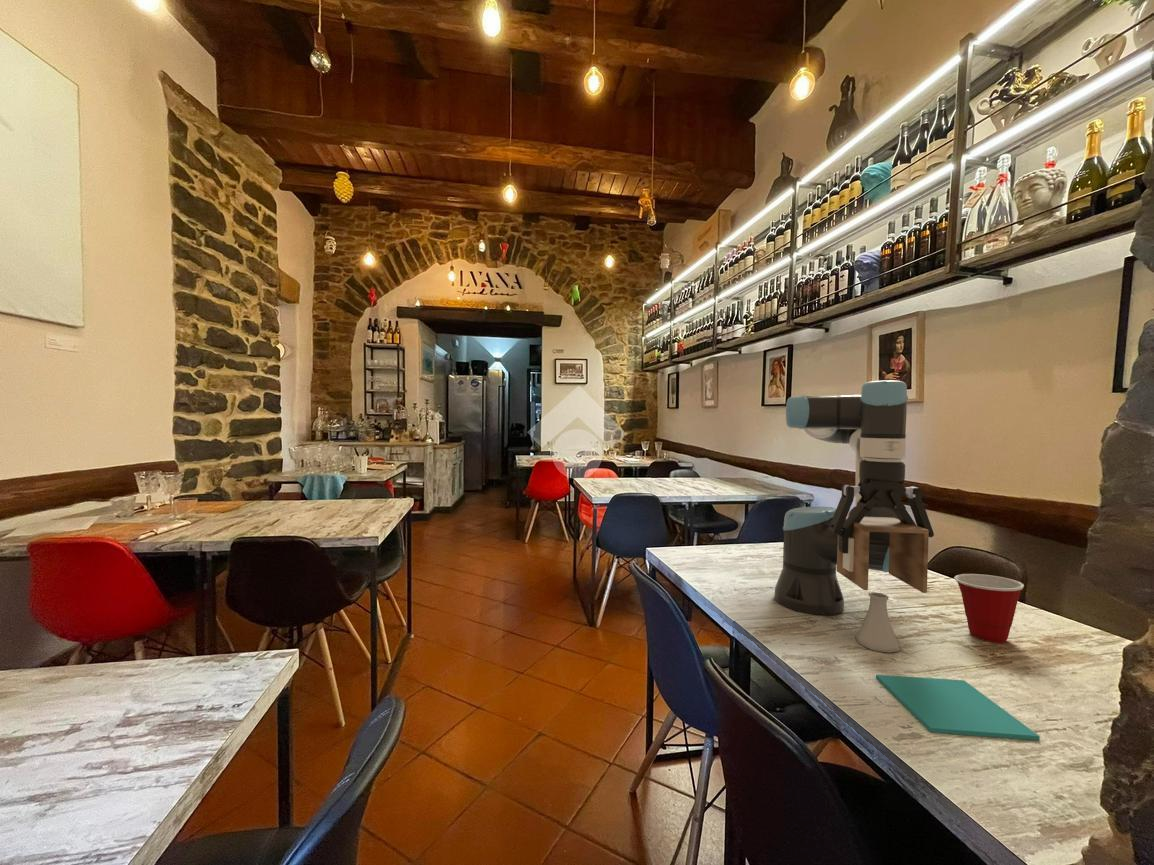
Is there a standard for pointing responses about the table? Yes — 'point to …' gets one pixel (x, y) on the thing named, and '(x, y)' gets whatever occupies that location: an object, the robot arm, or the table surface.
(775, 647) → the table surface
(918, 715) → the mat
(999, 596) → the plastic cup
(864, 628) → the flask
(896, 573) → the brown wooden box frame
